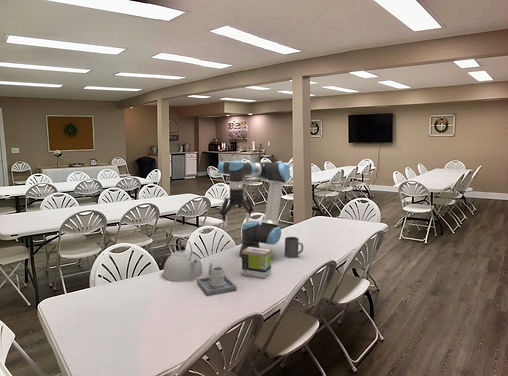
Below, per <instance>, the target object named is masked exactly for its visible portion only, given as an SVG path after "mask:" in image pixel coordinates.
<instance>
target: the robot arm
mask: <svg viewBox="0 0 508 376" xmlns="http://www.w3.org/2000/svg"><path fill="white" fill-rule="evenodd" d="M217 171H218V173H219V174H221V175H229V197H224V199H223V203H222V205H221V208H220V210H219V212H218V214H219V215H220V216H221V217H222V222H223V226H224V228H228V216H227V214H228V213H229V211H230V210H231V208H232V207H233V206H237V205H241V206H242V207H243V209H244V210H246V213H245V222H244V223H242V226H241V246H240V250H239V257H240V258H242V251H243V250H244V249H246V248H248V247H255V248H261V246H260V244H265V245H273V246H274V245H276V244H278V242H279V241H280V239H281V236H282V229H281V228H280V225H279V223H278V218H279V212H280V207H281V205H280V204H281V199H282V194H283V193H282V191H283V186H285V185H286V182H288V181H289V180H290V178H291V169H290V166H289V165H288V164H287V163H286V162H280V161H279V162H275V161H273V162H271V161H264V162H262V161H261V162H243V161H242V160H230V161H220V162H219V163H218V165H217ZM249 176H251V177H253V178H260V179H264V180H267V183H269V187H268V193H267V199H266V207H265V212H264V219H263V220H262V221H261V222H260V221H257V220H254V221H253V220H252V221H251V220H250V218H252V217H251V216H252V215H251V213H253V212H254V208H253V206H252V203H251V202H250V199H249V196H248V195H244V177H249ZM244 200H245V203H244ZM228 202H229V203H228ZM260 223H261V224H260Z"/></svg>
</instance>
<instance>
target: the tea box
mask: <svg viewBox="0 0 508 376" xmlns="http://www.w3.org/2000/svg"><path fill="white" fill-rule="evenodd" d="M271 273H272V249H270V248H262V247H260V248H255V247H248V248H246V249H244V250H243V251H242V257H241V275H243V276H249V277H255V278H256V277H257V278H260V279H261V278H262V279H266V278H267V277H268V276H269V275H271Z"/></svg>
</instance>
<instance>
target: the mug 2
mask: <svg viewBox="0 0 508 376" xmlns="http://www.w3.org/2000/svg"><path fill="white" fill-rule="evenodd" d="M299 245H301V246H300V247H301V248H300V251H299ZM303 251H304V245H303V243H301V242H299V238H298V237H296V236H287V237H285V239H284V257H286V258H290V259H291V258H292V259H293V258H298V256H299V254H302V253H303Z"/></svg>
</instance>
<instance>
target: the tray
mask: <svg viewBox="0 0 508 376" xmlns="http://www.w3.org/2000/svg"><path fill="white" fill-rule="evenodd" d="M224 281H225V285H224V287H223V288H218V289H214V288H212V287H211V281H210V280H209V277H208V276H207V277H202V278H201V277H199V278H197V279H196V283H197V285H198V286H199V287H200V289H202V292H204V294H206V296H208V297H209V296H214V295H221V294H226V293H231V292H235V291H237V289H238V288H237V284H235V283H234V282H233V281H232V280H231V279H230V278H228V276H226V275H224Z"/></svg>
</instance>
